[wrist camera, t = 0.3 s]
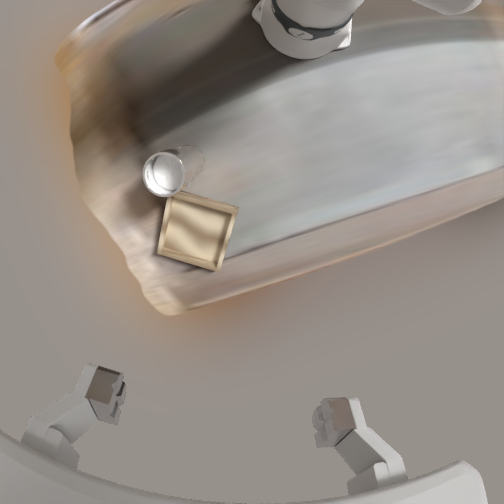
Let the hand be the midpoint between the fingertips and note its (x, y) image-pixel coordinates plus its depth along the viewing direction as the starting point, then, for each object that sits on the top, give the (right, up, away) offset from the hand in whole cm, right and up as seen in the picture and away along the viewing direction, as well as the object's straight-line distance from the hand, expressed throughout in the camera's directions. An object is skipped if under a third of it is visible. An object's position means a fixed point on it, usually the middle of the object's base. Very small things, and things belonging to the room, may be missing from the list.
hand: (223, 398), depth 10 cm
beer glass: (-11, +23, +41) cm, 48 cm away
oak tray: (-10, +10, +47) cm, 49 cm away
